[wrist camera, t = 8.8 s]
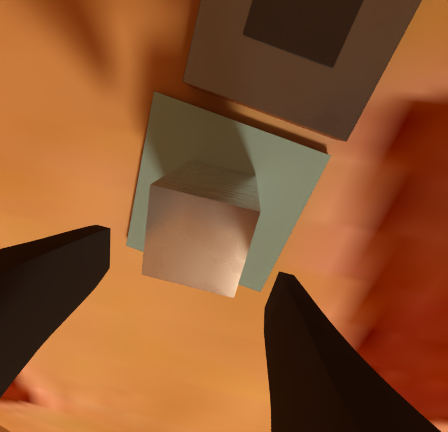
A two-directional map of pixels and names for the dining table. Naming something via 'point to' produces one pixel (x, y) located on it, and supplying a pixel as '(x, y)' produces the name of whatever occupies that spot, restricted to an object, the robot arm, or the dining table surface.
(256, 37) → the grey flat rectangular board
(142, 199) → the mat
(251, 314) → the dining table surface
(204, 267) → the steel block
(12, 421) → the dining table surface
